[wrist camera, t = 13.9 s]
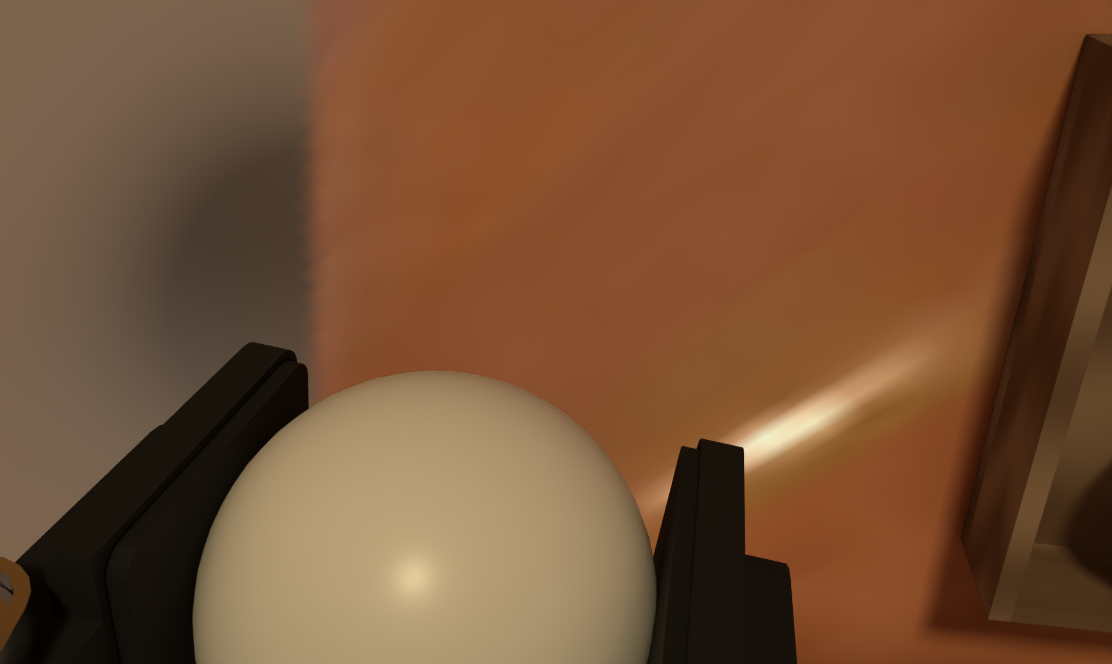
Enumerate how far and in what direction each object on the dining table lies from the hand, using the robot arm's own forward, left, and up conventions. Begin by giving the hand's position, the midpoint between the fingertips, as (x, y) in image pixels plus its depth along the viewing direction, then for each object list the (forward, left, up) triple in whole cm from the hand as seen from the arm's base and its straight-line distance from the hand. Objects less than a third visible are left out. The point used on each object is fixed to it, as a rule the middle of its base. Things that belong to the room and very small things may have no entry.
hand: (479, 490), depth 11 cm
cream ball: (0, 0, -1) cm, 1 cm away
